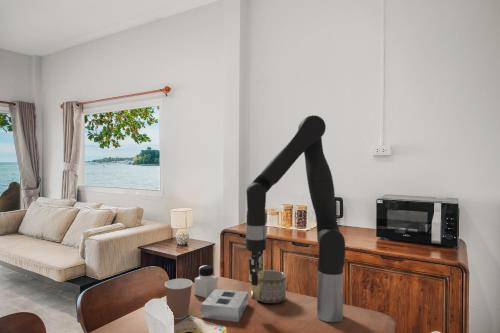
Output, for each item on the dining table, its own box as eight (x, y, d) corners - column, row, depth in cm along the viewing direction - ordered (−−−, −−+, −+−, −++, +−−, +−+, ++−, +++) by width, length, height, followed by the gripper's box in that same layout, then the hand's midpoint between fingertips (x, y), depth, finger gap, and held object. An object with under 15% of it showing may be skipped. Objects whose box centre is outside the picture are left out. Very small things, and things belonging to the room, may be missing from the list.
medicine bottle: (217, 293, 151) (217, 265, 150) (207, 298, 145) (207, 270, 144) (204, 289, 154) (205, 263, 154) (194, 294, 148) (194, 267, 148)
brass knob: (264, 295, 130) (264, 269, 130) (262, 301, 125) (262, 274, 125) (250, 294, 132) (250, 268, 131) (247, 300, 126) (247, 273, 126)
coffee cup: (176, 307, 136) (176, 276, 135) (197, 312, 131) (198, 281, 131) (158, 317, 126) (158, 285, 126) (181, 324, 122) (181, 290, 122)
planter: (274, 308, 136) (275, 282, 136) (249, 300, 143) (249, 275, 143) (291, 298, 146) (291, 274, 146) (266, 291, 153) (266, 268, 153)
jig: (247, 304, 139) (248, 291, 139) (238, 322, 124) (238, 308, 124) (214, 300, 142) (214, 288, 142) (201, 317, 127) (201, 304, 127)
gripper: (262, 241, 120) (262, 290, 121) (269, 233, 134) (269, 276, 135) (241, 240, 122) (242, 288, 122) (250, 232, 136) (250, 275, 136)
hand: (256, 282), depth 128 cm, fingers closed on brass knob, 5 cm apart
